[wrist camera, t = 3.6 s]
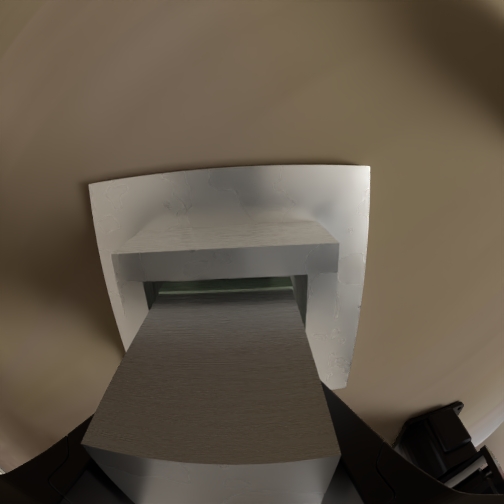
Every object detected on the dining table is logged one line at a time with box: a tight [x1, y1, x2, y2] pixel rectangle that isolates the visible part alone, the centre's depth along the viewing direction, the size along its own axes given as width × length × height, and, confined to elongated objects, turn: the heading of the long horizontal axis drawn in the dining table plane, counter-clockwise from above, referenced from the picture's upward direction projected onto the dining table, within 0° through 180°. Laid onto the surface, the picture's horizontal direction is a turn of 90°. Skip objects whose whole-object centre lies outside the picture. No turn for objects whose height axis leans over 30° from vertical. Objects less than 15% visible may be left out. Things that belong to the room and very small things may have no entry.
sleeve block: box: [89, 164, 370, 390], centre depth 12 cm, size 12×12×4 cm
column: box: [81, 277, 341, 504], centre depth 7 cm, size 4×4×7 cm
